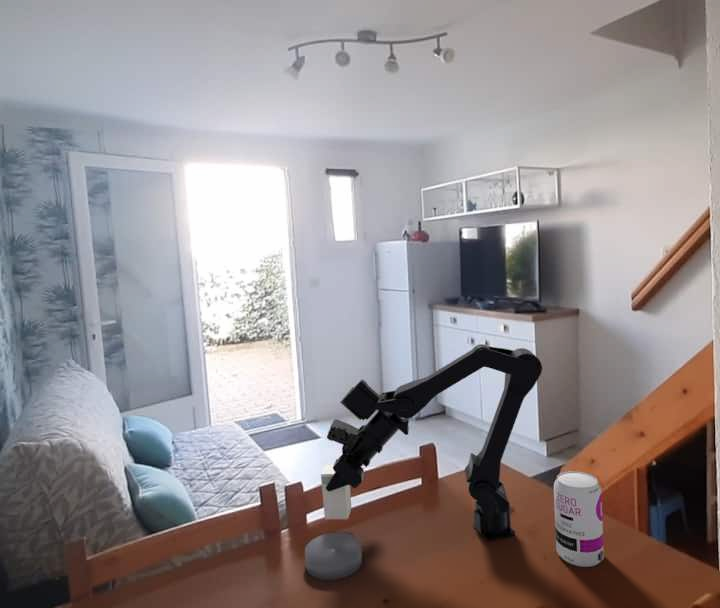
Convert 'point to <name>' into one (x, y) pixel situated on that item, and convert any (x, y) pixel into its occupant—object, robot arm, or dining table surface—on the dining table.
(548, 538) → the dining table surface
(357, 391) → the robot arm
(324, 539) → the grey dome
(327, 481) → the carton
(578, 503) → the supplement can
